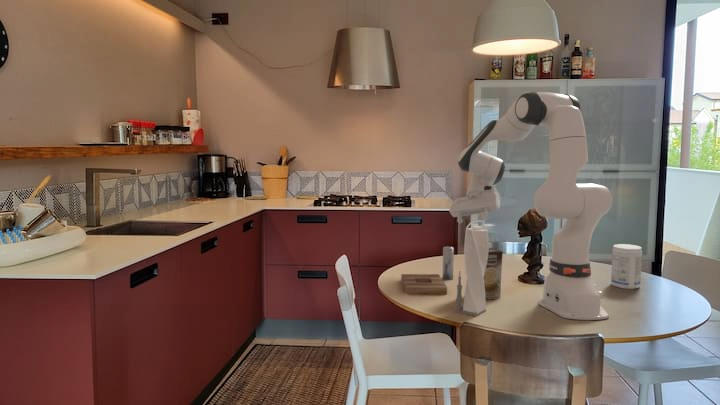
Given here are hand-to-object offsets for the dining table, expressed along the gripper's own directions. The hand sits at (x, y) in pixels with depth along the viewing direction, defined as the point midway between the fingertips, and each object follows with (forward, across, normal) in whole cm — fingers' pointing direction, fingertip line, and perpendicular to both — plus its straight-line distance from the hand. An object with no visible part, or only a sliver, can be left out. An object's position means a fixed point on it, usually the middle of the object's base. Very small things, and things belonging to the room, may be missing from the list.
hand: (470, 220), depth 202 cm
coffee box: (+34, +12, +2) cm, 36 cm away
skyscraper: (+47, +15, -8) cm, 50 cm away
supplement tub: (+6, +46, +38) cm, 60 cm away
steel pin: (+21, -9, +9) cm, 24 cm away
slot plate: (+32, -10, -2) cm, 34 cm away
